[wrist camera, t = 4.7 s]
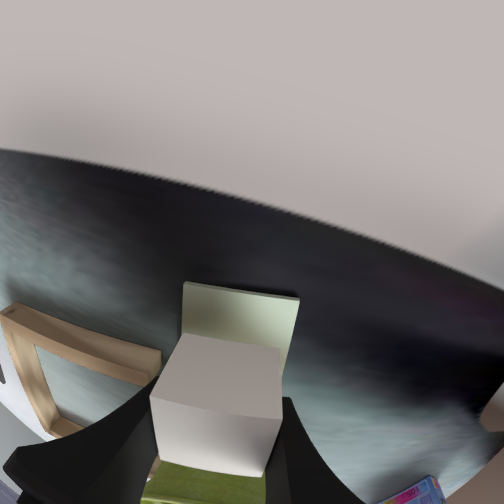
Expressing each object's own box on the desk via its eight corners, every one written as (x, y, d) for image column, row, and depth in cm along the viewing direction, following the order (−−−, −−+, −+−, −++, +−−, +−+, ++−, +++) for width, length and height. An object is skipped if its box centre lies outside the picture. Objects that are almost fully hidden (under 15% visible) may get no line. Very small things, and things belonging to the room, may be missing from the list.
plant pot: (188, 462, 19) (168, 538, 10) (143, 392, 17) (94, 484, 8) (293, 458, 18) (296, 544, 9) (274, 384, 16) (274, 506, 7)
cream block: (279, 347, 11) (282, 419, 7) (263, 411, 12) (261, 477, 8) (183, 332, 11) (149, 395, 7) (183, 398, 12) (160, 459, 8)
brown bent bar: (250, 478, 19) (248, 497, 17) (55, 418, 19) (45, 431, 17) (298, 298, 14) (304, 319, 12) (8, 243, 15) (-13, 251, 12)
